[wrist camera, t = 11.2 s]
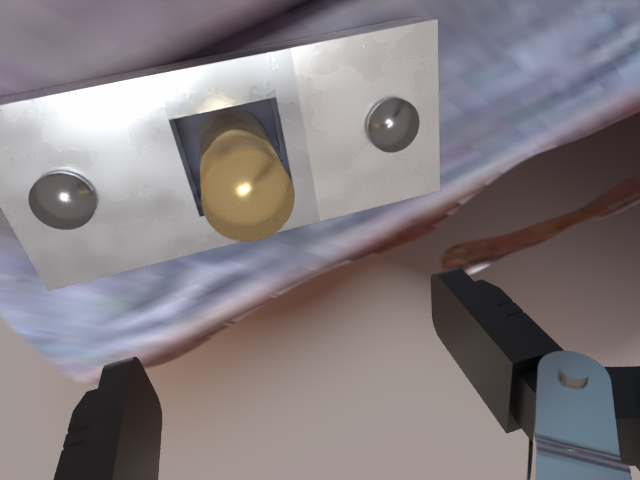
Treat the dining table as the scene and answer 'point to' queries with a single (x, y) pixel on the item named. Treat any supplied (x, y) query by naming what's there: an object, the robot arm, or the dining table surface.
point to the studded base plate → (170, 160)
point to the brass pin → (242, 178)
